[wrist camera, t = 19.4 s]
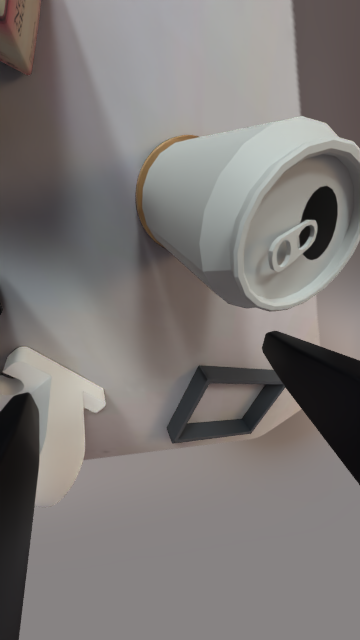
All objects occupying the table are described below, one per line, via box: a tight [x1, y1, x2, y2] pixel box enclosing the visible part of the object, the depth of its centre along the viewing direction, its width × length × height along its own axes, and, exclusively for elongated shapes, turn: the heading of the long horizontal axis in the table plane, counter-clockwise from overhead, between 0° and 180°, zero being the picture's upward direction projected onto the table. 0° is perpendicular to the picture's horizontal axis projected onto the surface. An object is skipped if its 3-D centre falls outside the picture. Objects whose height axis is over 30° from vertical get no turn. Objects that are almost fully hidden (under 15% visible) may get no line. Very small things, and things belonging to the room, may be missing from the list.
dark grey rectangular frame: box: [167, 366, 285, 444], centre depth 35 cm, size 15×12×2 cm
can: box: [142, 116, 360, 311], centre depth 13 cm, size 8×8×12 cm
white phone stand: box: [0, 346, 106, 507], centre depth 19 cm, size 5×10×10 cm, turn 34°
